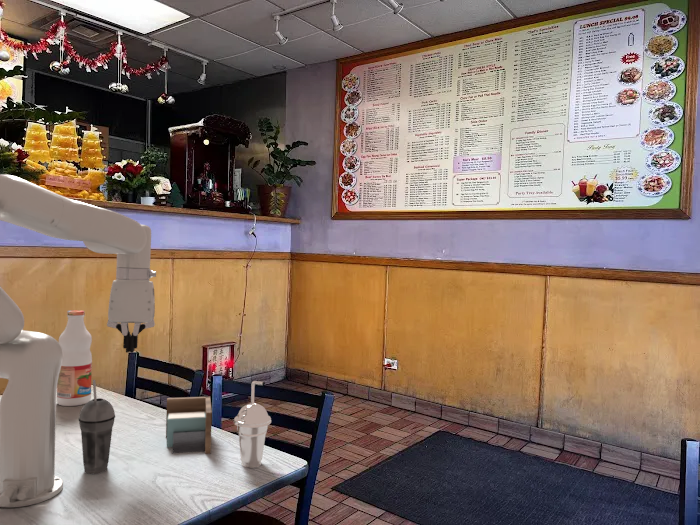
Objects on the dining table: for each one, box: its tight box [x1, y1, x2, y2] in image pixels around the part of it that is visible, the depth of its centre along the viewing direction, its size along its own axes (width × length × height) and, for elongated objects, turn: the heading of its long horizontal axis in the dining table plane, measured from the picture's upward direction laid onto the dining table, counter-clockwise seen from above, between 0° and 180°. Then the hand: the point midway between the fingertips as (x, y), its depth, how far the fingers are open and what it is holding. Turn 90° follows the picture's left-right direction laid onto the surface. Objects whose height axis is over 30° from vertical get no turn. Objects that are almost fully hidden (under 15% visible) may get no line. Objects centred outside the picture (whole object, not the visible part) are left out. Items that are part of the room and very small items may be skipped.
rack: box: [165, 396, 213, 455], centre depth 135 cm, size 14×11×10 cm
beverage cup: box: [78, 379, 116, 475], centre depth 118 cm, size 7×7×20 cm
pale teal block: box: [166, 411, 206, 448], centre depth 136 cm, size 5×9×7 cm, turn 106°
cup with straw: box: [233, 380, 272, 469], centre depth 124 cm, size 8×9×20 cm
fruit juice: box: [56, 309, 93, 407], centre depth 167 cm, size 9×9×28 cm
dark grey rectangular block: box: [172, 430, 205, 455], centre depth 132 cm, size 4×8×4 cm, turn 106°
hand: (130, 351), depth 132 cm, fingers closed
